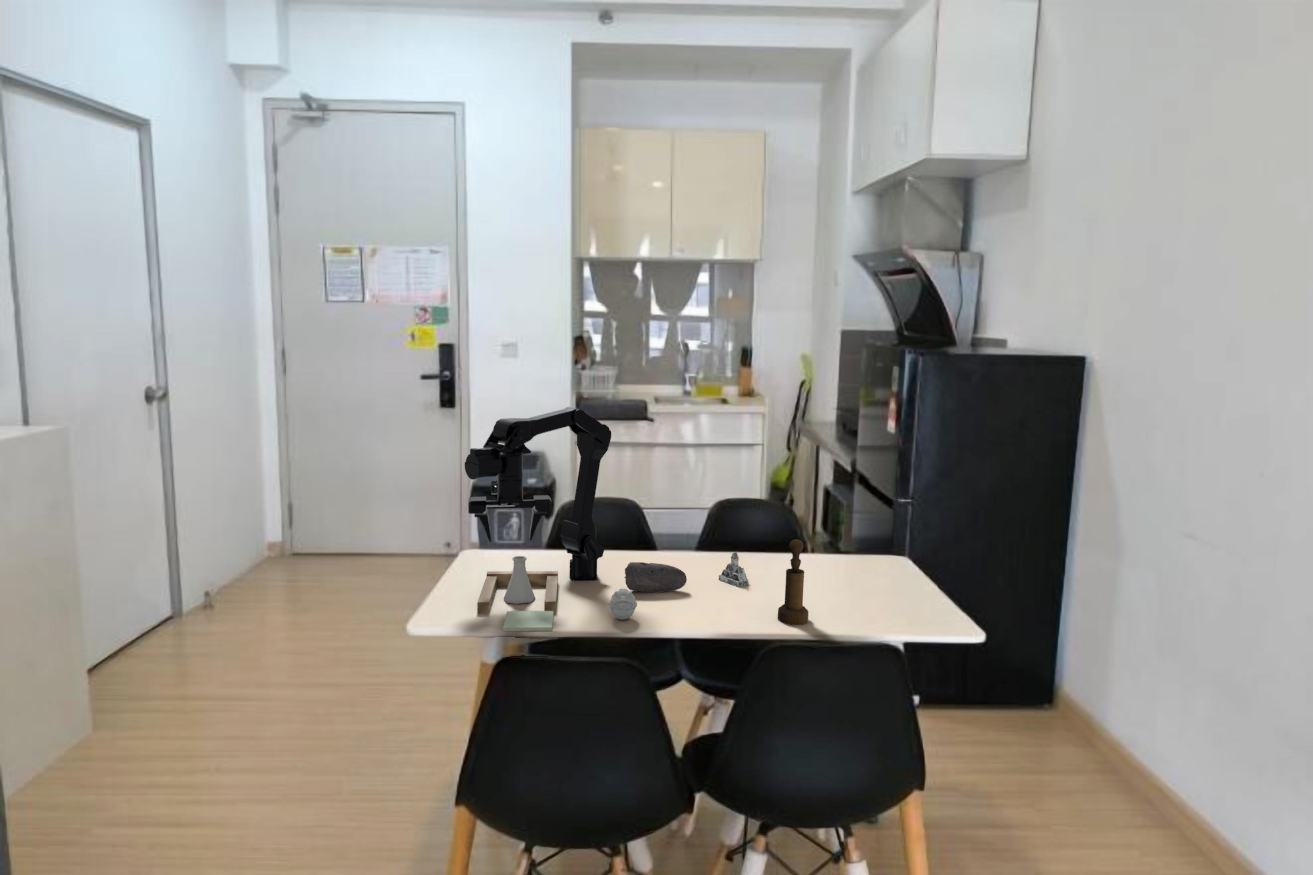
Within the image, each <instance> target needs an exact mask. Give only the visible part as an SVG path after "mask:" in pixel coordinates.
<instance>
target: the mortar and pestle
mask: <svg viewBox="0 0 1313 875" xmlns="http://www.w3.org/2000/svg"><path fill="white" fill-rule="evenodd" d="M788 547H789V548H788V549H789V550H790V553H791V556H792V558H791V559H790V560H789V561H790V566H791V568H787V569H786V570H785V586H784V587H785V589H784V604H782V605H781V606H780V607H778V609H777V620H778V621H779V622H781V623H783V624H786V625H793V626H795V625H796V626H798V625H799V626H800V625H805V624H807V623H808V622H809V610H808V608H806V607H805V606H804V604H803V601H804V585H805V584H804V583H805V582H804V580H805V570H804V569H800V567H801V564H802V559H800V556H801V553H802V551H803V549H804V543H803V542H802V541H801V540H800V539H792V540H791V541H789V545H788Z"/></svg>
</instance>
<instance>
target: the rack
mask: <svg viewBox="0 0 1313 875" xmlns="http://www.w3.org/2000/svg"><path fill="white" fill-rule="evenodd" d="M512 573H513V570H512V571H511V570H509V571H506V570H505V571H503V570H502V571H496V570H495V571H492V570H491V571H487V572H486V575H485V576H486V577H485V579H484V582H483V584H482V585H483V586H482V588H481V591H480V594H479V597H478V599H477V604H476V607H477V608H476V610H477V611H476V613H477V614H490V611H491V609H492V608H491V607H492V605H493V601H494V599H495V598H494V597H495V595H496V594H495V593H496V592H497V587H508V585H509V582H510V579H511V576H512ZM526 573H527V576H528V579H529V582H530V585H531V587H535V586H538V587H539V586H540V587H542V586H543V587H544V586H545V592H544V602H543V603H544V604H543V605H544V606H543V607H544V608H543V611H553V614H554V613H557V602H558V587H559V570H534V571H533V570H528V571H527V570H526Z"/></svg>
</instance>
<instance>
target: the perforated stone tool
mask: <svg viewBox="0 0 1313 875" xmlns="http://www.w3.org/2000/svg"><path fill="white" fill-rule="evenodd" d="M624 575H625V576H624V579H625V585H626V588H628V589H629V591H636V592H641V593H642V592H645V593H646V592H647V593H650V592H651V593H655V592H656V593H659V592H672V591H678V590H679V589H682V588H683V587H685V585H686V584H687V580H688V579H687V575H686V572H684V571H683V570H681V569H679V568H678V567H676V566H673V565H669V564H665V563H664V564H663V563H654V562H650V563H648V562H640V561H637V562H635V561H634V562H633V561H632V562H631V561H630V562H629V563H627V566H626V567H625V568H624Z"/></svg>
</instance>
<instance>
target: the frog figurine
mask: <svg viewBox="0 0 1313 875" xmlns="http://www.w3.org/2000/svg"><path fill="white" fill-rule="evenodd" d="M608 606H609V609H610V610H611V613H612V615H613V616H614V618H616V619H617V620H621V621H622V620H623V621H624V620H627V619H630V618H631V617H632V616H633V614H634V613H635V610H636V608H637V606H638V602H637V601H636V598H635V595H634V594H633V593H632V590H628V589H627V588H620V589H618V590H617V591H614V593H613V594H612V595H611V598H610V600H609V602H608Z"/></svg>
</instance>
